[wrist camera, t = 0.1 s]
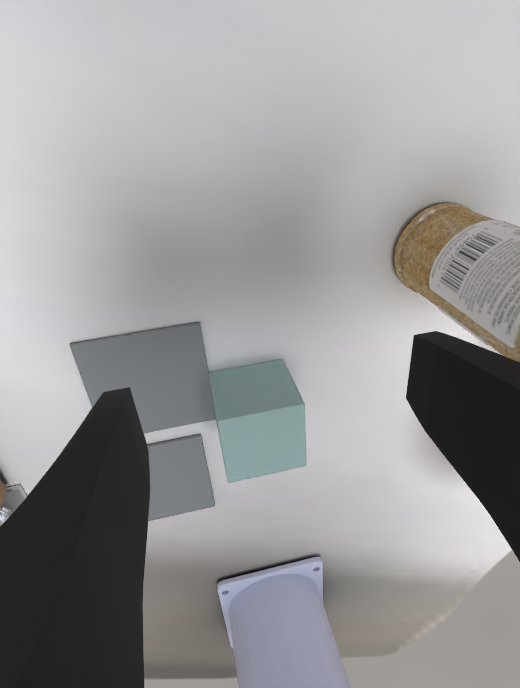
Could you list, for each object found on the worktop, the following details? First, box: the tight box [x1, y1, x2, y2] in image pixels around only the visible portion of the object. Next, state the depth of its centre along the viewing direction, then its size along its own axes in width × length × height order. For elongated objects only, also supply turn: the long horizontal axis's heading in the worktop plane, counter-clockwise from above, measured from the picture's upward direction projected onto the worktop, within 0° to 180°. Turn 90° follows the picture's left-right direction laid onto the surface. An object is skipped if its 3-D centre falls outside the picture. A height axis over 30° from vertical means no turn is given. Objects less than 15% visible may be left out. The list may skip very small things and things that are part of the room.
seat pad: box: [70, 322, 216, 433], centre depth 22 cm, size 6×6×1 cm
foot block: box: [208, 359, 306, 483], centre depth 22 cm, size 4×4×4 cm
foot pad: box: [147, 434, 215, 521], centre depth 25 cm, size 6×6×1 cm
